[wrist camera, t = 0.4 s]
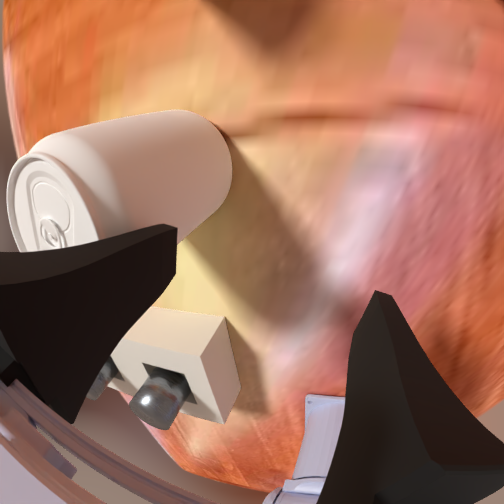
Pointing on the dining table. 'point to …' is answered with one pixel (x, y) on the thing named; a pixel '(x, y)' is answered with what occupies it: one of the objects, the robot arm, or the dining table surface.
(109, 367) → the peg
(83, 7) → the dining table surface
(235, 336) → the dining table surface
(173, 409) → the peg
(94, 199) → the beverage can
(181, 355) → the bore block
